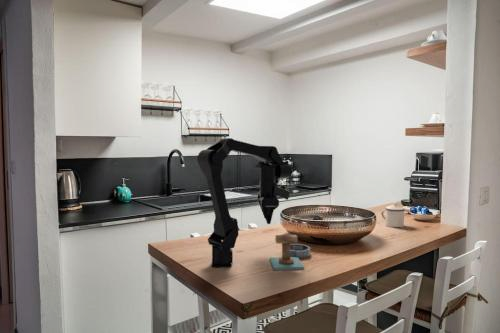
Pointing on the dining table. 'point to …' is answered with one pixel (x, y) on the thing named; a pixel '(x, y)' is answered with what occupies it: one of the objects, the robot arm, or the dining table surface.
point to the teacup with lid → (394, 215)
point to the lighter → (316, 217)
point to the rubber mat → (278, 266)
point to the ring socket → (299, 250)
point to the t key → (286, 247)
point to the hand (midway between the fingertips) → (267, 221)
